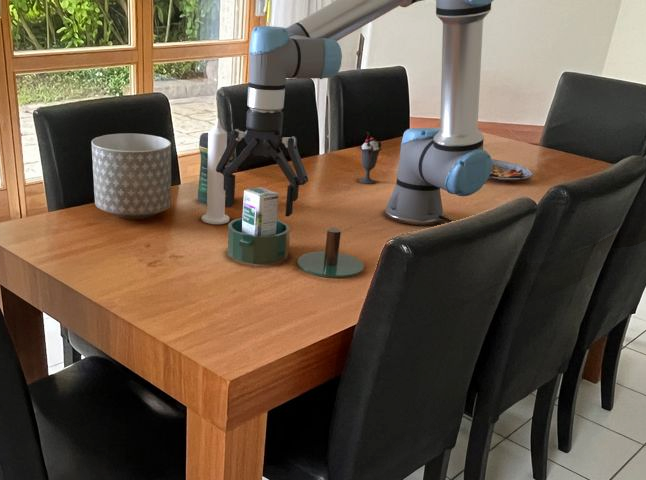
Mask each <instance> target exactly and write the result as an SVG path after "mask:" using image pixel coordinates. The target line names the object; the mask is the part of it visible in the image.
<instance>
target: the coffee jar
mask: <svg viewBox="0 0 646 480" xmlns="http://www.w3.org/2000/svg"><path fill="white" fill-rule="evenodd" d="M225 131H226V132H227V146H228V144H229V142H230V138H231V132H232V131H228V130H225ZM198 148H199V153H200V166H199V176H198V177H199V178H198V188H197V200H198V201H199V202H200V203H202V204H204V205H207V178H208V132H203V133H201V134H200V136H199V142H198ZM235 151H236V149H235V150H234V152H233V154H232V156H231V157H230V159H229V161H228V163H227V165H226V168H228V167H229V166H230V164H231V163H232V162H233V161H234V154H235ZM231 175H234V172H233V173H232V174H231ZM225 204H227V191H225Z"/></svg>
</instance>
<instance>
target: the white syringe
mask: <svg viewBox="0 0 646 480" xmlns="http://www.w3.org/2000/svg"><path fill="white" fill-rule="evenodd" d="M226 131H227V130H225V129H224V128H223V127H222V125H221V120H220V118H219V117H217V118H216V121H215V124H214V126H213V127H212V128H211V129H210V130H208V132H207V133H208V178H207V204H206V213H204V214H202V215H201V221H202V222H204V223H205V224H209V225H225V224H228V223H230V219H231V218H230V216H229V215H228V214H226V213H225V212H226V210H225V209H226V203H225V190H224V188H223V186H224V176H223V174H221V173H220V172H216V167H217V165H218V163H219V161H220V159H221V157H222V155H223V153H224V152H225V150H226V148H227V132H226Z"/></svg>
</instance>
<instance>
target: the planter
mask: <svg viewBox="0 0 646 480" xmlns="http://www.w3.org/2000/svg"><path fill="white" fill-rule="evenodd" d="M91 156H92V157H91V158H92V175H93V193H94V195H93V196H94V205H95V207H96V208H98V209H99V210H101V211H104V212H106V213H109V214H111V215H112V216H115V217H117V218H120V219H124V220H131V221H138V220H144V219H148V218H151V217H153V216H155V215H158V214H159V213H161V212H165V211H167V210H168V209H169V208H170V207H171V205H172V143H171V141H170V140H168V139H167V138H164V137H162V136H158V135H153V134H146V133H145V134H144V133H111V134H104V135H101V136H97V137H94V138H93V139H92V140H91Z"/></svg>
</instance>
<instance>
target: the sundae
mask: <svg viewBox="0 0 646 480" xmlns="http://www.w3.org/2000/svg"><path fill="white" fill-rule="evenodd" d="M366 135H368V136H367V137H366V138H365V142H364V143H363V144H362V145H361V146H359V150H360V151H361V166H362V167H363V169H364V170H365V176H364V177H363V178H359V180H358V182H359V183H362V184H365V185H366V184H368V185H370V184H375V182H376V180H373V179H371V177H370V173H371V171H372V170H373V169H374V168H375V167H376V165H377V161H378V158H379V154H380V152H381V151H382V141H381V140H379V141H377V140H376V139H375V138H374V137H373V136H371V134H370V132H369V131H366ZM369 136H370V138H369Z"/></svg>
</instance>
